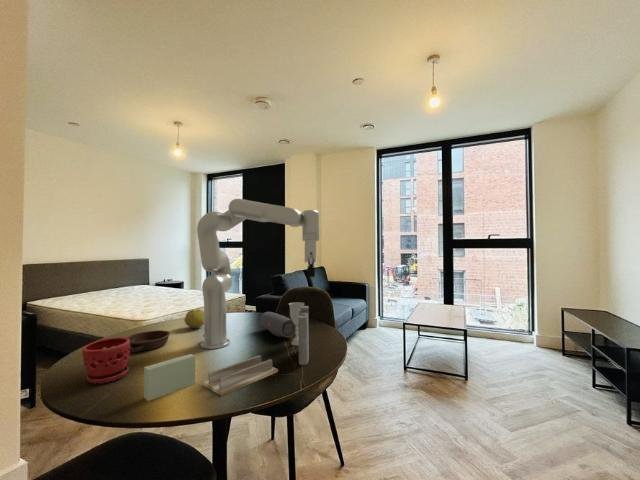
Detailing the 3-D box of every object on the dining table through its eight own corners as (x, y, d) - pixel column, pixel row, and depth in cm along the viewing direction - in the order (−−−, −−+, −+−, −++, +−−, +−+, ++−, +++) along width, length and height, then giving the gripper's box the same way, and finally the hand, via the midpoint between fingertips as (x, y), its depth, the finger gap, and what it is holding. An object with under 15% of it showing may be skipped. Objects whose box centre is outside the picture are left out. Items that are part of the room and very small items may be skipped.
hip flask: (299, 350, 127) (298, 302, 127) (308, 350, 127) (308, 302, 128) (298, 365, 111) (298, 311, 111) (309, 364, 111) (309, 310, 112)
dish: (111, 355, 124) (111, 343, 125) (146, 338, 146) (146, 328, 147) (151, 355, 123) (151, 343, 123) (180, 339, 145) (180, 328, 145)
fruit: (179, 330, 159) (179, 311, 159) (192, 325, 171) (192, 307, 171) (198, 331, 157) (198, 312, 157) (210, 325, 169) (210, 307, 169)
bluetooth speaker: (258, 331, 157) (258, 311, 157) (274, 328, 162) (274, 309, 163) (279, 342, 139) (279, 320, 139) (297, 338, 144) (296, 317, 144)
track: (202, 385, 96) (202, 372, 96) (258, 364, 112) (258, 353, 113) (221, 396, 89) (221, 382, 89) (278, 371, 105) (277, 360, 105)
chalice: (306, 341, 139) (305, 302, 139) (303, 346, 132) (303, 305, 132) (290, 341, 140) (290, 302, 140) (287, 345, 133) (287, 305, 133)
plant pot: (102, 370, 109) (102, 336, 109) (138, 370, 108) (138, 336, 108) (71, 387, 96) (71, 349, 96) (112, 387, 95) (112, 349, 95)
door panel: (144, 398, 88) (144, 367, 88) (190, 381, 99) (190, 353, 99) (148, 401, 86) (148, 369, 86) (195, 384, 97) (195, 356, 97)
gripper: (302, 238, 144) (303, 274, 143) (301, 237, 126) (302, 277, 126) (318, 238, 144) (318, 273, 144) (319, 236, 127) (320, 277, 126)
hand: (311, 275), depth 135 cm, fingers open, 9 cm apart
